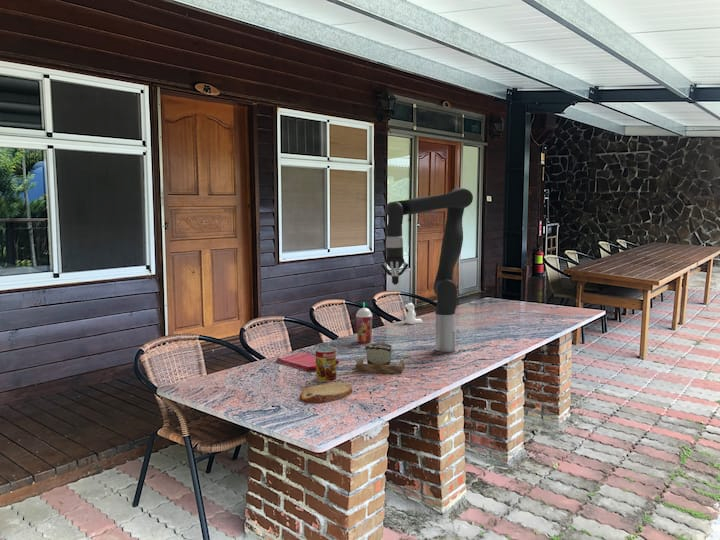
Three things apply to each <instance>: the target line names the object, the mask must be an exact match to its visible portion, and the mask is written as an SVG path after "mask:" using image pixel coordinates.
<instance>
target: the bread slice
mask: <svg viewBox="0 0 720 540" xmlns="http://www.w3.org/2000/svg"><path fill="white" fill-rule="evenodd" d="M352 393H353V388H352V386H351V385H350V384H349V383H347V382H329V383H324V384H323V383H322V384H318V385H313V386H307V387H306V388H304V389H303V390H302V391H301V392H300V394H299V402H302V403H307V404H312V403H313V404H315V403H316V404H317V403H318V404H319V403H327V402H332V401H337V400H340V399H343V398H346V397H348V396H350V395H351V394H352Z"/></svg>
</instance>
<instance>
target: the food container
mask: <svg viewBox="0 0 720 540" xmlns="http://www.w3.org/2000/svg"><path fill="white" fill-rule="evenodd" d="M364 345H365V344H364ZM393 349H394V348H393V347H392V345H391V344H388V343H385V342H373V343H366V345H365V346H364V351H365V353H366V354H365V355H366V364H380V365H391V360H392V353H393V352H394V350H393Z"/></svg>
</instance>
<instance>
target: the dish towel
mask: <svg viewBox="0 0 720 540" xmlns="http://www.w3.org/2000/svg"><path fill="white" fill-rule="evenodd" d="M275 363H278V364H281V365H285V366H287V367H291V366H292V368H295V369H298V368H299V369H298V370H302V371H306V372H309V371H311V372H315V371H316V354H315V355H314V354H310V353H309V352H304V351H303V352H301V353H296V354H293V355H290V356H289V355H288V356H286V357H277V358H276V360H275ZM339 363H340V361H339V360H338V359H336V365H339ZM314 370H315V371H314Z"/></svg>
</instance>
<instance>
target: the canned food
mask: <svg viewBox="0 0 720 540" xmlns="http://www.w3.org/2000/svg"><path fill="white" fill-rule="evenodd" d="M336 352H337V351H336V347H332V346H331V347H330V346H322V347H321V346H320V347H318V348H315V356H316V370H315V372H316V373H315V374H316V375H315V376H316V377H315V378H316V379H315V380H316V381H318V382H320V383H332V382H334V381H336V380H337V364H336V360H337V357H336V355H337V354H336Z"/></svg>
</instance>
